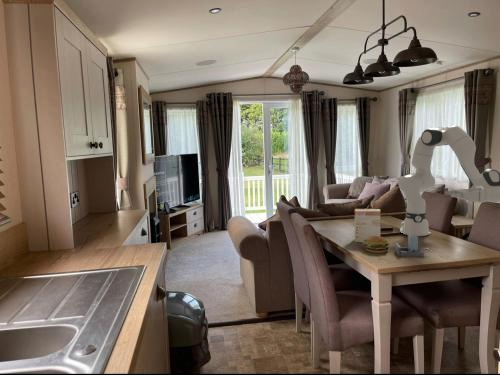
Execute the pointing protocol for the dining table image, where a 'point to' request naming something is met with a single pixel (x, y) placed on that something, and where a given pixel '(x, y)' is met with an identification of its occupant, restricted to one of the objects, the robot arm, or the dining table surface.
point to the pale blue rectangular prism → (412, 243)
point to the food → (376, 244)
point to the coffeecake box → (366, 223)
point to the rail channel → (404, 252)
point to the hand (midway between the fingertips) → (448, 194)
